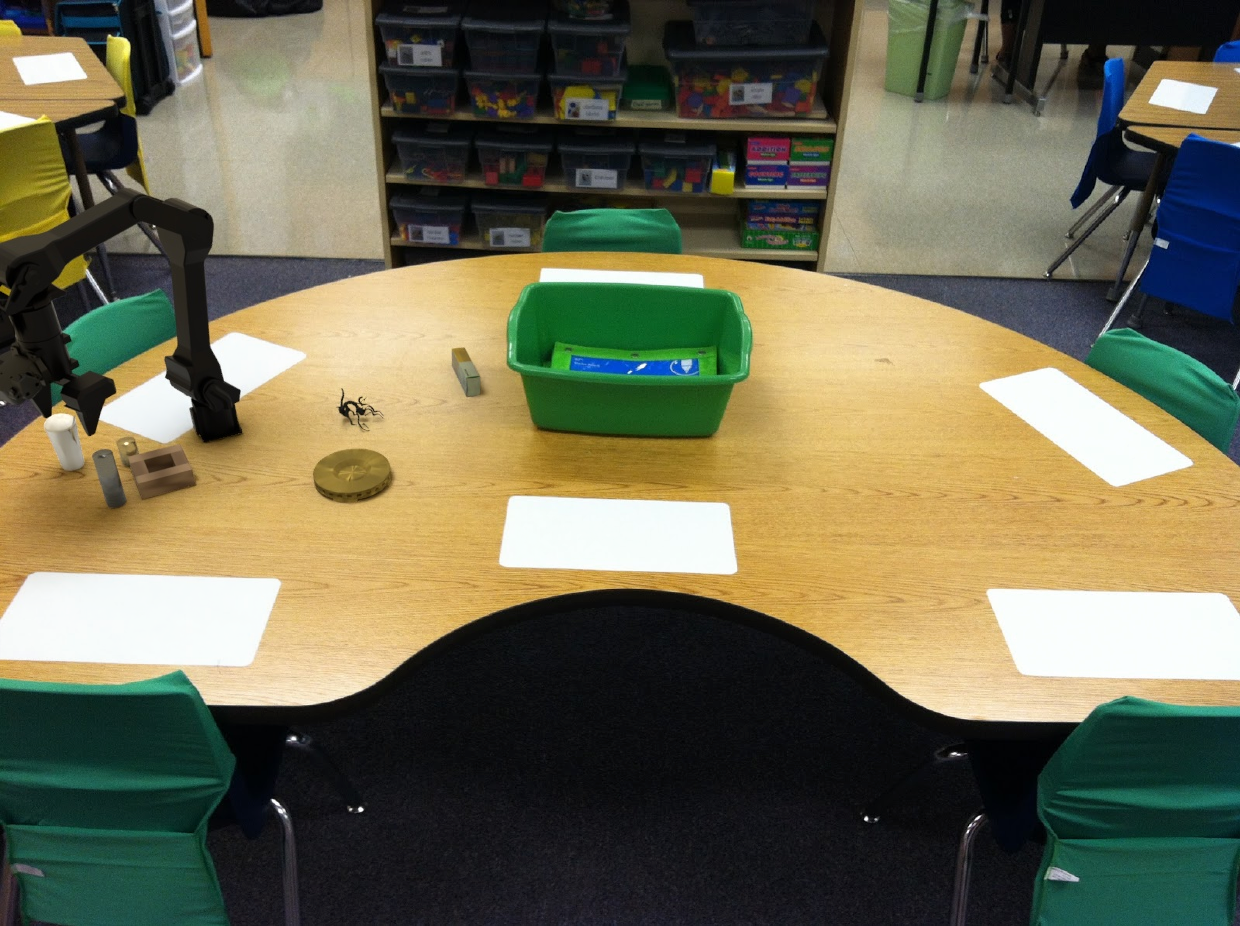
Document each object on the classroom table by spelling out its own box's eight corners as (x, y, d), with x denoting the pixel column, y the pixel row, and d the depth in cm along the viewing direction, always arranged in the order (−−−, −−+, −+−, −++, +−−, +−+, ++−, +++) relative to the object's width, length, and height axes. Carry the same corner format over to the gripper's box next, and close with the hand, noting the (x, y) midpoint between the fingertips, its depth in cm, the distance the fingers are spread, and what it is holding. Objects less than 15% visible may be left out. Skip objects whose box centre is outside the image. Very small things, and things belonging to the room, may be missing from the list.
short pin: (139, 455, 169) (133, 434, 167) (142, 464, 168) (137, 443, 165) (120, 459, 168) (114, 439, 166) (124, 468, 166) (118, 448, 164)
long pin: (124, 494, 161) (110, 447, 156) (128, 504, 159) (114, 456, 154) (105, 500, 160) (90, 452, 154) (108, 510, 158) (93, 461, 152)
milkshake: (82, 476, 164) (65, 423, 158) (51, 471, 165) (33, 418, 159) (99, 460, 168) (83, 408, 162) (69, 455, 169) (52, 403, 163)
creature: (384, 413, 185) (338, 405, 183) (388, 387, 182) (342, 379, 180) (379, 437, 179) (332, 429, 177) (384, 412, 176) (336, 403, 174)
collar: (184, 458, 169) (180, 443, 167) (196, 484, 164) (192, 469, 162) (132, 472, 166) (127, 456, 164) (142, 499, 160) (137, 483, 158)
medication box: (481, 396, 189) (481, 376, 187) (466, 398, 188) (466, 378, 186) (464, 364, 198) (464, 345, 196) (450, 366, 197) (450, 347, 195)
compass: (299, 480, 166) (297, 469, 165) (362, 450, 174) (360, 439, 172) (343, 513, 160) (342, 502, 159) (406, 481, 167) (405, 470, 166)
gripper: (-60, 340, 142) (-23, 434, 151) (34, 377, 135) (67, 473, 144) (12, 307, 150) (44, 398, 159) (104, 340, 143) (131, 433, 152)
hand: (69, 425), depth 154 cm, fingers open, 9 cm apart
